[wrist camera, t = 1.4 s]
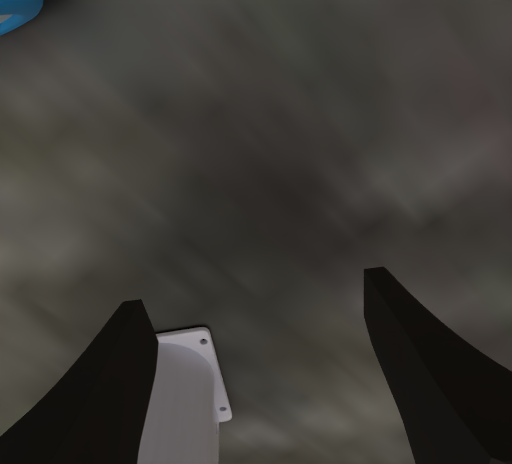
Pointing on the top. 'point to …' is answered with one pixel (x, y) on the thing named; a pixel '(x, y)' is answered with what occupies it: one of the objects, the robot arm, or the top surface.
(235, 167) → the top surface
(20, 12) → the alarm clock
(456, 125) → the top surface
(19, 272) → the top surface
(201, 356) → the robot arm
